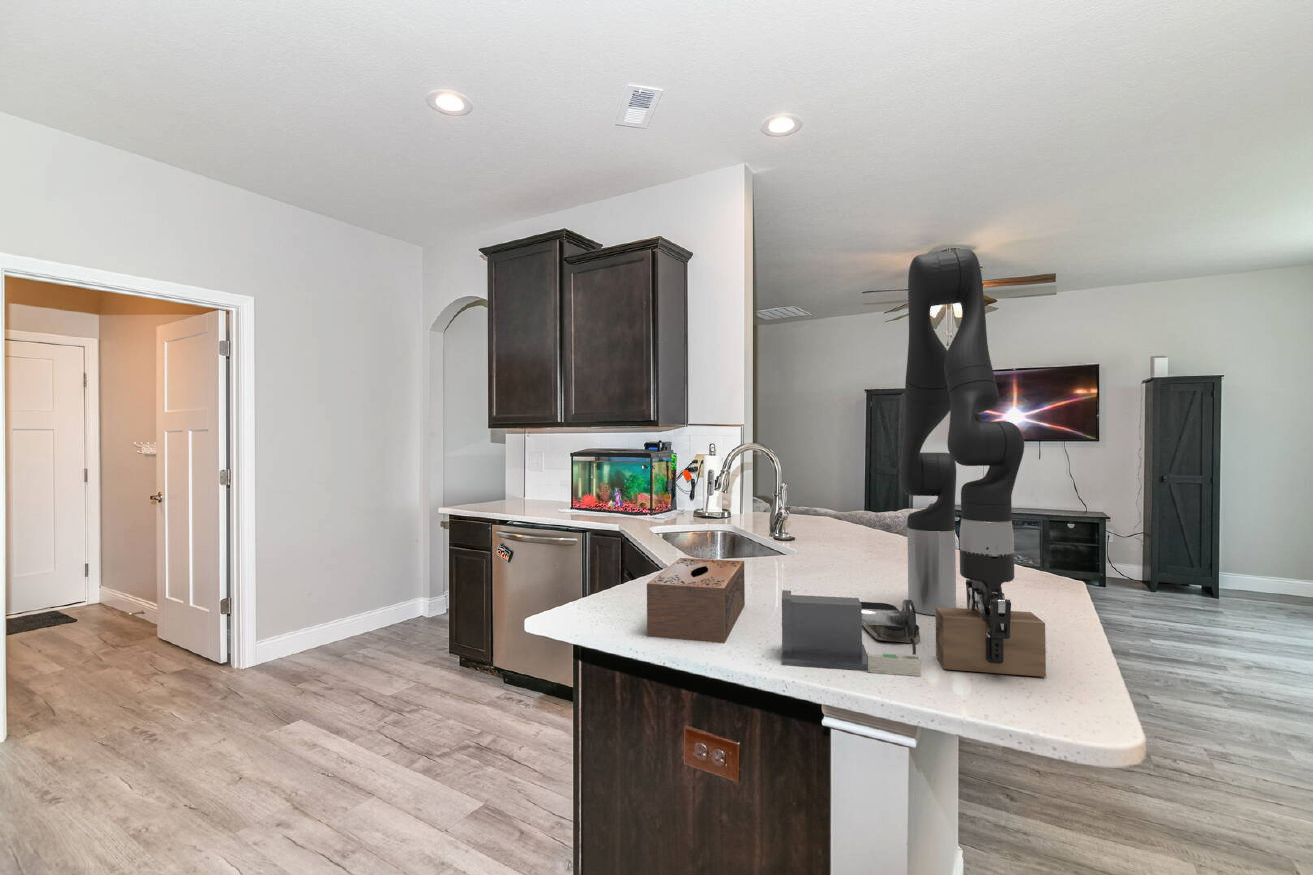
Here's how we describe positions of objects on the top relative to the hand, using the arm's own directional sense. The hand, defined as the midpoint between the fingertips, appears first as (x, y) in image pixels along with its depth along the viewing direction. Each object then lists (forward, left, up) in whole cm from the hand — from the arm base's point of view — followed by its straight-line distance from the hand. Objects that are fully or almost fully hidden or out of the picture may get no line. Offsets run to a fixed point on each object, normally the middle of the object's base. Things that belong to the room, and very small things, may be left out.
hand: (987, 654), depth 94 cm
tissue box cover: (-17, -48, -3) cm, 51 cm away
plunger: (+1, -18, +1) cm, 18 cm away
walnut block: (0, 0, -2) cm, 2 cm away
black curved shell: (-17, -13, -3) cm, 21 cm away
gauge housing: (0, -21, -2) cm, 21 cm away
